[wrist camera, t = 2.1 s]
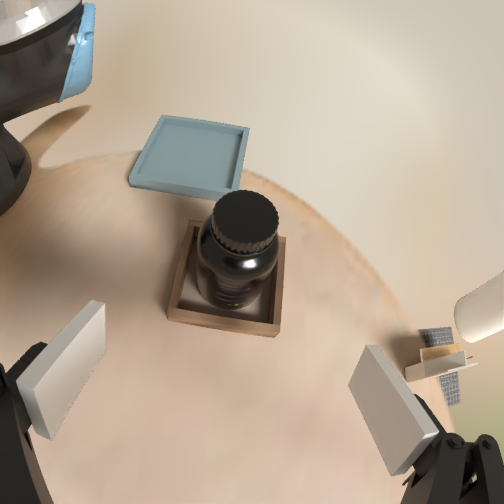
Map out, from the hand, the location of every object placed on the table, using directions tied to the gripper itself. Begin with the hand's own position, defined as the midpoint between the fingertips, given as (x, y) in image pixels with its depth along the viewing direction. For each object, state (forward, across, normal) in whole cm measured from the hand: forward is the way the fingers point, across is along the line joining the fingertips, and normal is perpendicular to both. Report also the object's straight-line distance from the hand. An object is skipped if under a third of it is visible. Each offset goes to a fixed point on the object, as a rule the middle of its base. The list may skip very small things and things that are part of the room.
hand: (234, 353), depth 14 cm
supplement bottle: (+18, 0, -3) cm, 18 cm away
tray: (+30, -8, +9) cm, 32 cm away
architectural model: (+12, +24, -9) cm, 29 cm away
